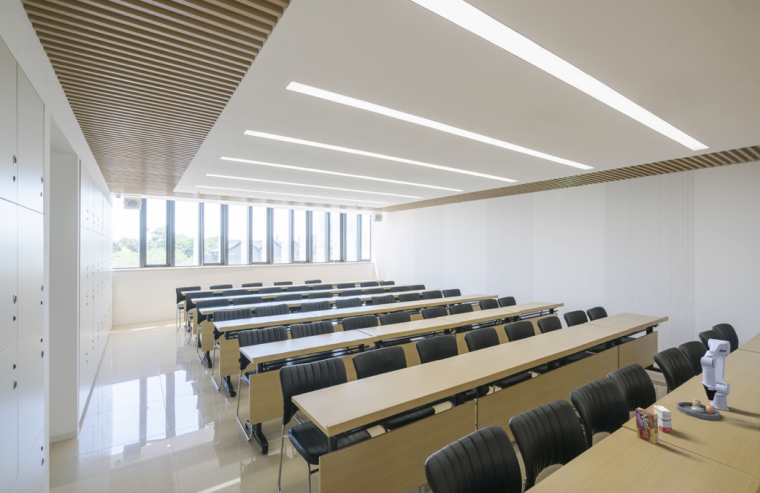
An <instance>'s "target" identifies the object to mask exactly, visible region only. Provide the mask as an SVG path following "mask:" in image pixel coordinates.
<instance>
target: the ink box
mask: <svg viewBox="0 0 760 493" xmlns="http://www.w3.org/2000/svg"><path fill="white" fill-rule="evenodd" d="M653 412H654V413H657V415H658V430H660V431H662V432H663V433H673V431H672V429H673V428H672V411H670V410H669V409H668V408H666V407H664V406H663V405H658V404H657V405H653Z"/></svg>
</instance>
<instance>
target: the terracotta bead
mask: <svg viewBox="0 0 760 493" xmlns="http://www.w3.org/2000/svg"><path fill="white" fill-rule="evenodd" d="M705 405H706V413H707V414H709V415H715V409H716V408H715V407H714V406H712V405H711V404H705Z"/></svg>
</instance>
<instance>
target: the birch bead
mask: <svg viewBox="0 0 760 493" xmlns="http://www.w3.org/2000/svg"><path fill="white" fill-rule="evenodd" d="M691 402H692V406H696V407H700V408H701V404H702V403H701V400H700V399H692V400H691Z"/></svg>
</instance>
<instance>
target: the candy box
mask: <svg viewBox="0 0 760 493" xmlns="http://www.w3.org/2000/svg"><path fill="white" fill-rule="evenodd" d="M635 422H636V423H635V425H636V428H635V429H636V438H639V439H642V440H644V441H647V442H650V443H652V444H654V445H655V444H657V443H659V428H658V415H657V413H654V411H651V410H648V409H645V408H641V407H637V408H635Z"/></svg>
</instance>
